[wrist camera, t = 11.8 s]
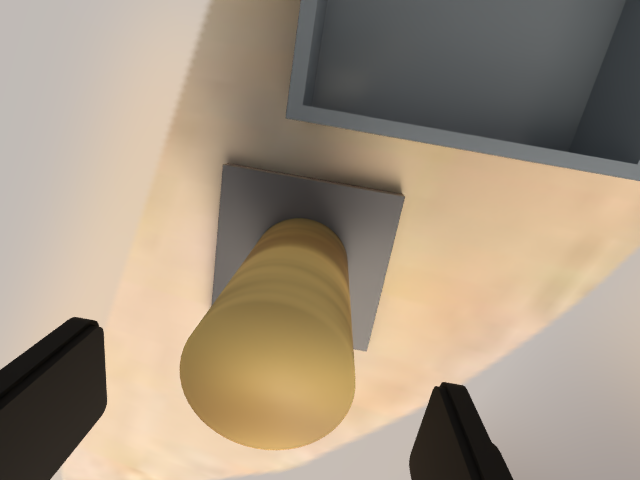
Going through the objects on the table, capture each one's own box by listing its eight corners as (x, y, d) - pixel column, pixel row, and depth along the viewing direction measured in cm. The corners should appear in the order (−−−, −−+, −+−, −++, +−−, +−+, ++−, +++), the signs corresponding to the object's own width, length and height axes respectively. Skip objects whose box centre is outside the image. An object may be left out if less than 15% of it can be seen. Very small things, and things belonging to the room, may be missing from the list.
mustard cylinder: (259, 210, 20) (183, 287, 10) (356, 227, 20) (372, 320, 10) (249, 297, 21) (176, 434, 12) (338, 313, 21) (337, 462, 12)
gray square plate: (227, 163, 20) (223, 164, 19) (402, 194, 20) (404, 196, 19) (214, 317, 23) (210, 324, 22) (365, 343, 23) (366, 351, 22)
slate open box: (332, -117, 16) (330, -226, 11) (655, -59, 16) (794, -142, 11) (298, 120, 19) (285, 118, 14) (567, 168, 19) (645, 182, 14)
